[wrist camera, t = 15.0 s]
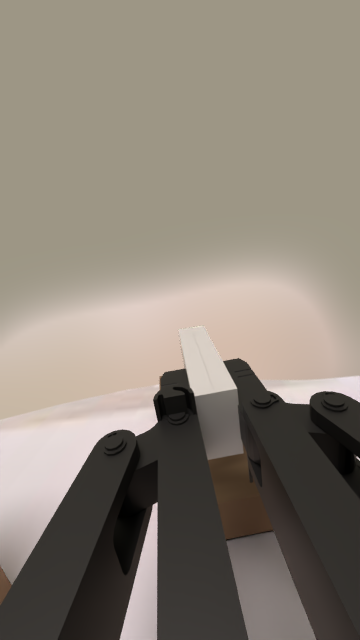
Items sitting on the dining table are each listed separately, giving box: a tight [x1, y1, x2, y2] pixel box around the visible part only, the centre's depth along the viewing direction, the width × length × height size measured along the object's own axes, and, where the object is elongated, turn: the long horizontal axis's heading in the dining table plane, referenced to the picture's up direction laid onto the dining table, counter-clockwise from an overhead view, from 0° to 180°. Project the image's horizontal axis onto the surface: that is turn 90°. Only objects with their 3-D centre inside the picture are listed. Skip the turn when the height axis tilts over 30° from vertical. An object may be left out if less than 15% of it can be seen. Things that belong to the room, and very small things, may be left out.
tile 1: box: [160, 376, 273, 539], centre depth 18 cm, size 6×3×12 cm
